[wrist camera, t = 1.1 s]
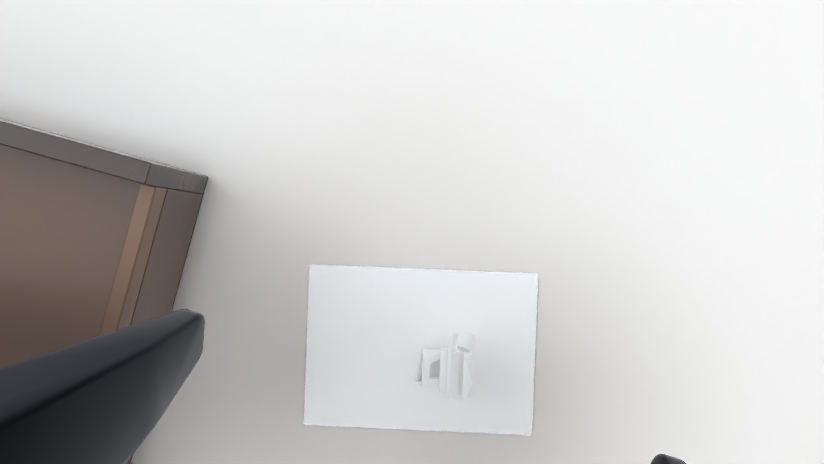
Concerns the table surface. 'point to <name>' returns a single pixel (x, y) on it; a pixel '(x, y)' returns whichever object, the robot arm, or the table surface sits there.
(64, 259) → the wooden step tray
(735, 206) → the table surface
